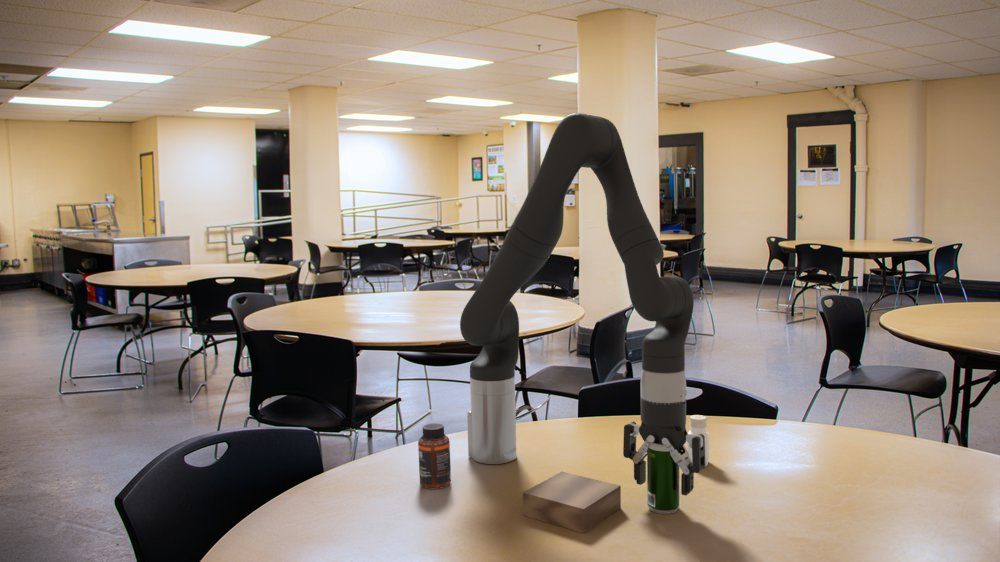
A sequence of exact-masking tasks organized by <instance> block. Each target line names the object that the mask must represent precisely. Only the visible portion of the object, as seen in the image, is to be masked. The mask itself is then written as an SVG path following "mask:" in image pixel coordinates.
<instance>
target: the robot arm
mask: <svg viewBox="0 0 1000 562" xmlns="http://www.w3.org/2000/svg"><path fill="white" fill-rule="evenodd" d="M581 168H588V169H591V170H592V172H593V173H594V175H595V176H596V177H597V180H598V181H599V183H600V185H601V187H602V189H603V192H604V196H605V201H606V202H605V203H606V221H607V223H606V224H607V227H608V228H607V229H608V232H609V235H610V238H611V239H612V242H613V244H614V246H615V248H616V250H617V253H618V255H619V257H620V259H621V262H622V263H623V265H624V272H625V279H626V283H627V288H628V293H629V300H630V302H631V304H632V306H633V309H634V310H635V311H636V313H637V314H638V315H639V316H640V317H641V318H642V319H644V320H646V321H648V322H655V325H654V328H653V329H652V331H651V332H650V333H648V334H647V335H645V336H644V338H643V339H642V344H641V376H640V421H641V424H637V423H636V422H635V421H630V422H629V423H627V424H625V425H624V426H623V442H622V443H623V444H622V445H623V451H622V453H623V457H624V458H625V459H629V460H630V461H632V462H633V478H634V481H636V485H639V486H641V485H643V484H645V483H646V482H647V461H646V460H645V459H647V450H648V445H649V444H650V442H658V443H663V445H666V448H669V450H670V455H671V456H672V458H673V460H674V461H675V463H677V464H678V465H679V469H680V471H681V472H682V473H681V474H680V476H681V477H680V481H681V484H680V486H681V487H680V488H681V489H680V490H681V491H680V493H681V495H682V496H685V497H686V496H688V495H689V494H690V493H691V492H692V491H693V490H694V488H695V485H694V480H695V477H694V474H699V473H700V472H701V471H702V470H704V469H706V466H705V437H704V435H703V434H699V435H691V434H688V432H687V429H686V428H687V427H686V424H687V395H688V394H687V393H688V391H687V380H686V373H685V372H686V371H685V370H686V367H685V365H686V364H685V363H686V361H685V359H686V356H685V355H686V354H685V353H686V352H685V345H686V340H687V338H688V334H689V330H690V326H691V321H692V319H693V312H694V305H695V304H694V303H695V302H694V301H695V300H694V295H693V290H692V288H691V286H690V284H689V283H688V281H687V280H685V278H683V277H681V276H676V275H670V276H663V277H660V275H659V272H658V268H657V267H658V266H657V265H658V264H660V262H662V260H663V259H664V255H665V254H664V249H663V247H662V244H661V242H660V240H659V238H658V236H657V234H656V231H655V229H654V228H653V225H652V223H651V221H650V219H649V218H648V215H647V213H646V210H645V209H644V207H643V204H642V202H641V199H640V197H639V193H638V191H637V188H636V185H635V182H634V178H633V175H632V172H631V168H630V165H629V161H628V158H627V156H626V151H625V148H624V145H623V142H622V138H621V136H620V134H619V131H618V129H617V127H616V126H615V124H614V123H613V121H611V120H609V119H607V118H605V117H601V116H599V115H591V114H587V113H581V112H574V113H570V114H568V115H566V116H565V117H563V118H562V120H561V121H560V122H559V123H558V125H557V126H556V128H555V130H554V132H553V135H552V137H551V139H550V141H549V144H548V146H547V149H546V151H545V154H544V156H543V159H542V162H541V164H540V167H539V170H538V171H537V173H536V175H535V179H534V180H533V183H532V184H531V187H530V188H529V191H528V193H527V194H526V196H525V199H524V202H523V203H522V205H521V207H520V209H519V211H518V213H517V214H516V216H515V217H514V220H513V222H512V223H511V225H510V228H509V229H508V231H507V233H506V235H505V237H504V239H503V242H502V244H501V246H500V248H499V249H498V251H497V254H496V255H495V257H494V259H493V261H492V262H491V265H490V266H489V268H488V271H487V272H486V274H485V275H484V277H483V279H482V280H481V282H480V284H479V285H478V287H477V288H476V289H475V291H474V292H473V294H472V296H471V297H470V298H469V300H468V302H466V305H465V306H464V308H463V310H462V312H461V316H460V320H459V329H460V333H461V336H462V338H463V340H464V341H465V342H466V343H467V344H469V345H471V346H475V347H482V348H481V351H480V352H479V354H478V355H477V356H476V358H474V359H473V360H472V361H471V363H470V365H469V386H470V387H469V388H470V389H469V390H470V391H469V392H470V410H469V411H468V412H467V414H466V416H467V418H466V419H467V422H466V423H467V448H468V449H467V451H468V452H467V453H468V455H467V456H468V457H469V458H472V460H473V461H475V462H476V463H481V464H485V465H500V464H506V463H509V462H512V461H514V460H515V459H516V458H517V417H516V415H517V414H516V381H515V380H516V376H515V375H516V374H515V373H516V372H515V369H516V366H517V364H518V360H519V348H520V346H519V345H520V343H519V342H520V321H519V319H520V318H519V314H518V311H517V308H516V307H515V305H514V304H513V302H512V301H511V300H512V298H513V296H515V294H516V293H517V292H518V291H519V290H520V289H521V288H522V287H524V285H525V284H526V283H528V282H529V281H530V280H531V279H532V278H533V277H534V276H535V275H536V274H537V273H538V272H539V271H540V270H541V269H542V268H543V267H544V265H545V264H546V262H547V261H548V260H549V258H550V256H551V255H552V253H553V252H554V250H555V247H556V246H557V244H558V242H559V240H560V238H561V236H562V233H563V229H564V228H563V227H564V208H565V206H564V205H565V198H566V196H567V195H566V194H567V193H568V190H569V188H570V186H571V184H572V182H573V181H574V179H575V177H576V176H577V175H578V173H579V171H580V170H581ZM638 435H640V437H641V439H642V440H643V441H644V442H643V443H642V444H641V446H640V447H639V448H638V450H637V436H638ZM687 442H688V443H689V446H690V448H692V460H691V459H690V457H689V453H688V451H687V447H686V446H685V444H686V443H687ZM678 451H679V453H678Z"/></svg>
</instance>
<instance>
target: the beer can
mask: <svg viewBox="0 0 1000 562" xmlns="http://www.w3.org/2000/svg"><path fill="white" fill-rule="evenodd" d="M678 453H679V451H678ZM679 454H680V453H679ZM646 460H647V461H646V482H647V484H646V485H647V488H646V490H647V492H646V493H647V495H646V496H647V500H646V501H647V506H648V507H647V508H648V509H649V510H650V511H651V512H653V513H655V514H660V515H671V514H675V513H677V511H678V510H679V508H680V467H679V465H678V464H677V463H675V461H674V460H673V458H672V456H671V455H670V450H669V448H666V445H663V443H658V442H650V444H649V445H648V450H647V456H646Z"/></svg>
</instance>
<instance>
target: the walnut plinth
mask: <svg viewBox="0 0 1000 562" xmlns="http://www.w3.org/2000/svg"><path fill="white" fill-rule="evenodd" d="M621 488H622V487H621V485H620V484H615V483H611V482H607V481H603V480H599V479H595V478H590V477H588V476H587V477H585V476H582V475H578V474H574V473H570V472H566V471H560V472H558V473H556V474H555V475H552V476H551V477H549V478H548V479H545V480H543V481H541V482H540V483H538V484H536V485H534V486H532V487H530V488H529V489H527V490H525V491H523V492H522V513H523V514H522V516H523V517H528V518H531V519H534V520H537V521H541V522H545V523H548V524H551V525H555V526H558V527H561V528H565V529H569V530H572V531H575V532H579V533H581V534H585V533H587V532H588V531H589V530H591V529H592V528H594V527H595V526H598V524H600V523H601V522H603V521H604V520H605V519H607V518H608V517H610V516H611V515H613V514H614V513H616V512H617V511H619V510H620V509H621V508H622V505H621V504H622V502H621V501H622V500H621V499H622V498H621V497H622V496H621V495H622V493H621V492H622V489H621Z"/></svg>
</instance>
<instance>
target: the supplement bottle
mask: <svg viewBox="0 0 1000 562" xmlns="http://www.w3.org/2000/svg"><path fill="white" fill-rule="evenodd" d="M450 442H451V441H450V438H449V437H448V436H447V435H446V434H445V426H444V425H443V424H442V423H435V422H434V423H428V424H425V425H423V426H422V436H420V438H419V439H418V442H417V447H418V449H417V451H418V468H419V471H418V472H419V473H418V474H419V485H420V486H421V487H423V488H425V489H430V490H440V489H442V488H445V487H448V486H449V485H450V484H451V482H452V472H451V471H452V470H451V469H452V468H451V466H452V465H451V448H450V447H451V446H450V444H451V443H450Z"/></svg>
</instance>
